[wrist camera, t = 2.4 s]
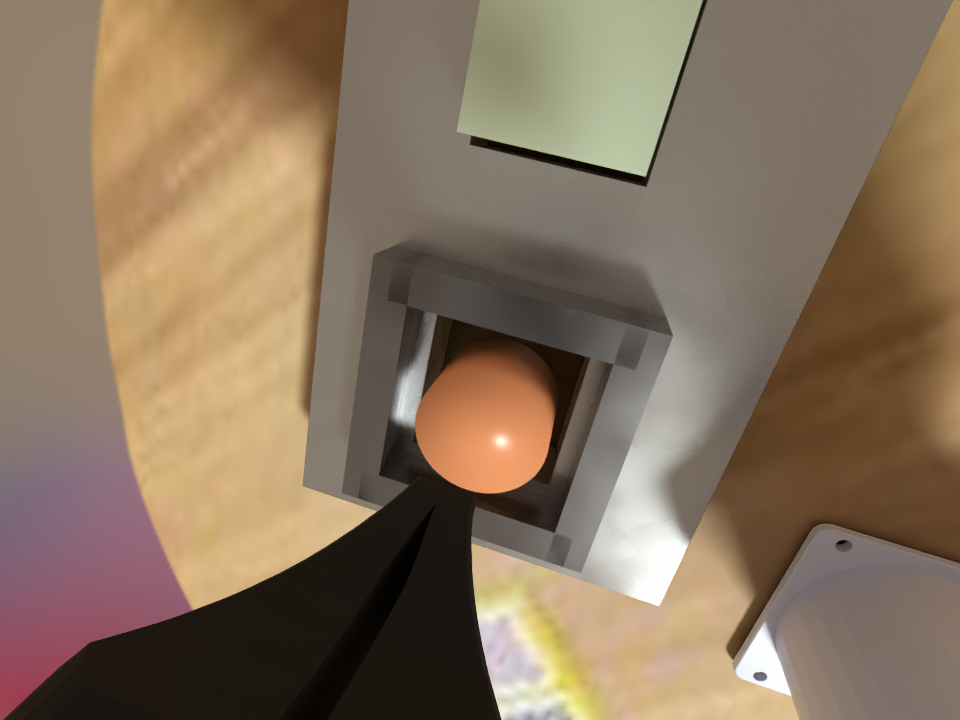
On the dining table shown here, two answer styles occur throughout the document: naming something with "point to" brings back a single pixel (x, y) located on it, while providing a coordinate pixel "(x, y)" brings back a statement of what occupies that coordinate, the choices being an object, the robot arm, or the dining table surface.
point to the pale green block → (576, 76)
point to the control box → (594, 264)
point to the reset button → (489, 416)
